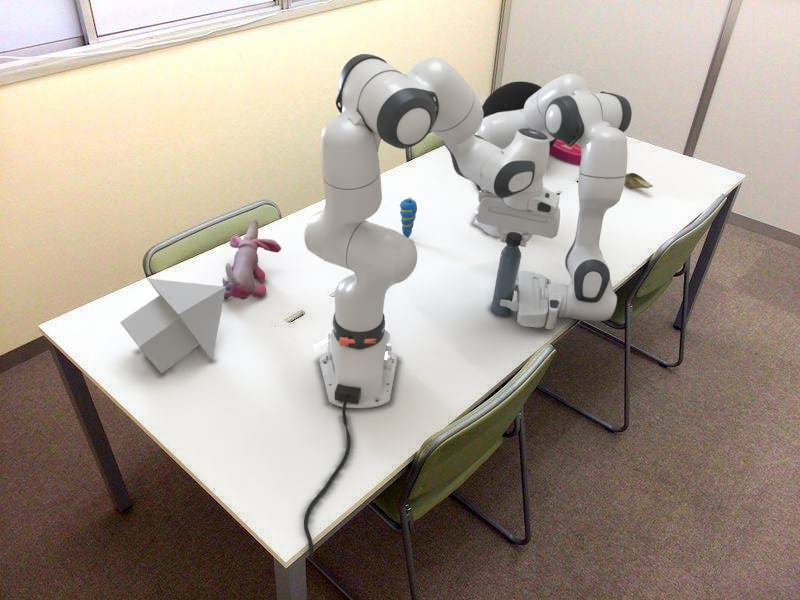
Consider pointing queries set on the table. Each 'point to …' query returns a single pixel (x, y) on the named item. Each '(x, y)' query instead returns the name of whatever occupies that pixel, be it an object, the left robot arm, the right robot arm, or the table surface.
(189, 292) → the pyramid on cube
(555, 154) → the sign
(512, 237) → the cap
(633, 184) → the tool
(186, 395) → the table surface
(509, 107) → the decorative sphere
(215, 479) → the table surface
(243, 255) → the toy
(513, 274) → the bottle
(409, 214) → the ornament
